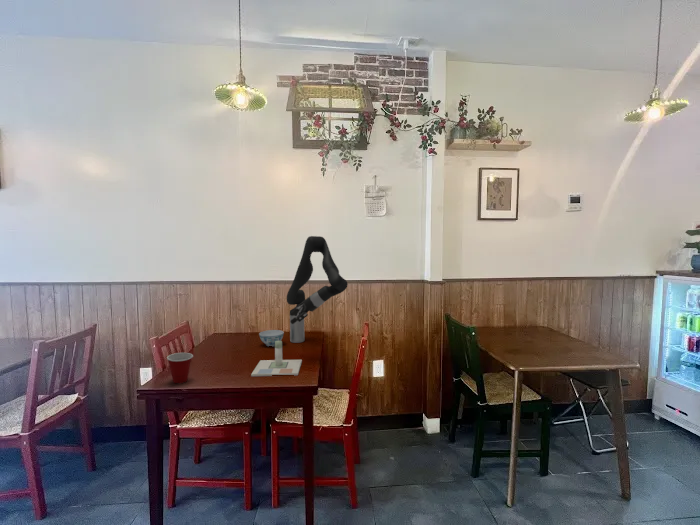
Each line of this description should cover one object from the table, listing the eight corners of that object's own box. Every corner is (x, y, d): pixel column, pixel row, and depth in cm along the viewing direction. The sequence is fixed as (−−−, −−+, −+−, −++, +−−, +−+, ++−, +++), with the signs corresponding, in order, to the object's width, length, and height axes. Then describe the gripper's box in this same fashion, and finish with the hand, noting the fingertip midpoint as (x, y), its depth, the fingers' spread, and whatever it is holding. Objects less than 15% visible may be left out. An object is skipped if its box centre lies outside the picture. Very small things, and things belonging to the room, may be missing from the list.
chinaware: (281, 348, 208) (280, 335, 208) (256, 348, 209) (256, 336, 208) (286, 341, 223) (286, 329, 223) (263, 341, 224) (262, 329, 223)
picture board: (260, 362, 184) (260, 360, 184) (302, 361, 185) (301, 359, 185) (251, 376, 164) (251, 374, 164) (297, 375, 165) (297, 373, 165)
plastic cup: (183, 386, 153) (182, 360, 152) (162, 385, 155) (161, 358, 154) (198, 377, 163) (198, 352, 163) (178, 376, 165) (177, 351, 165)
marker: (275, 363, 178) (275, 340, 178) (282, 363, 178) (282, 340, 178) (274, 366, 175) (274, 342, 174) (281, 366, 175) (281, 342, 174)
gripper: (310, 290, 191) (287, 307, 193) (310, 302, 178) (286, 320, 180) (318, 299, 194) (296, 316, 196) (319, 312, 181) (295, 330, 183)
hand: (291, 318), depth 188 cm, fingers open, 8 cm apart
